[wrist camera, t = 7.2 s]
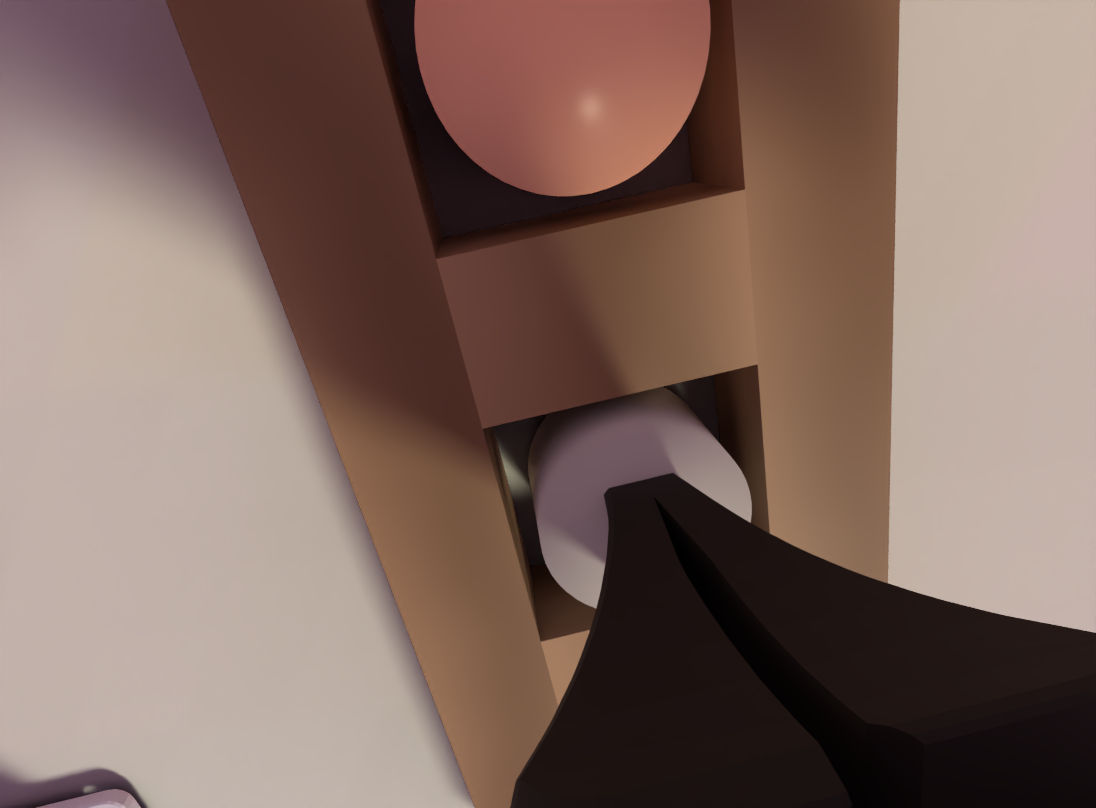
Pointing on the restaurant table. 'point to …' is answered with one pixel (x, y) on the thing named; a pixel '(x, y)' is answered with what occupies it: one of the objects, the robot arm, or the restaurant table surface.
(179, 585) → the restaurant table surface
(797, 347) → the panel
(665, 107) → the terracotta button
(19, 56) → the restaurant table surface
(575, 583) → the grey button
